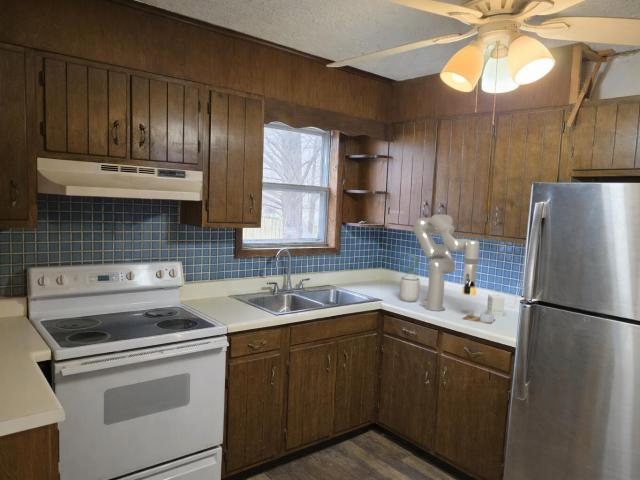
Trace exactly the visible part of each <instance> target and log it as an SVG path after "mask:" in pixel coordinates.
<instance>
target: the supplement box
mask: <svg viewBox="0 0 640 480" xmlns="http://www.w3.org/2000/svg"><path fill="white" fill-rule="evenodd" d="M486 304H487V305H486V306H487V307H486V311H489V313H491V314H493V315H494V318H495V317H497V318H498V317H500V318H503V317H504V310H505V297H503V295H499V294H498V295H497V294H496V295H494V294H493V295H492V294H488V295H487V303H486Z"/></svg>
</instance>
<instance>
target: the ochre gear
mask: <svg viewBox="0 0 640 480" xmlns="http://www.w3.org/2000/svg"><path fill="white" fill-rule="evenodd" d="M461 291H462V292H461V293H462V294H463V295H467V296H476V295H477V287H471V286H470V294H466V293H464V286H462V290H461Z"/></svg>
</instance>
